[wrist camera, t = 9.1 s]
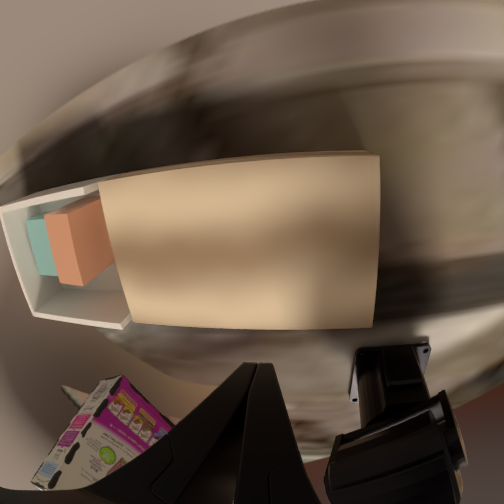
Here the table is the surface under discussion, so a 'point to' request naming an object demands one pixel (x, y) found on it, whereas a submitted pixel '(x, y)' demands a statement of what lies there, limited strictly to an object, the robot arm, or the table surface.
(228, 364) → the table surface
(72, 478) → the candy bar box
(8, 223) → the box
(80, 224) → the terracotta block
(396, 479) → the robot arm
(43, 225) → the mint green block
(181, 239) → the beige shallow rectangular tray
